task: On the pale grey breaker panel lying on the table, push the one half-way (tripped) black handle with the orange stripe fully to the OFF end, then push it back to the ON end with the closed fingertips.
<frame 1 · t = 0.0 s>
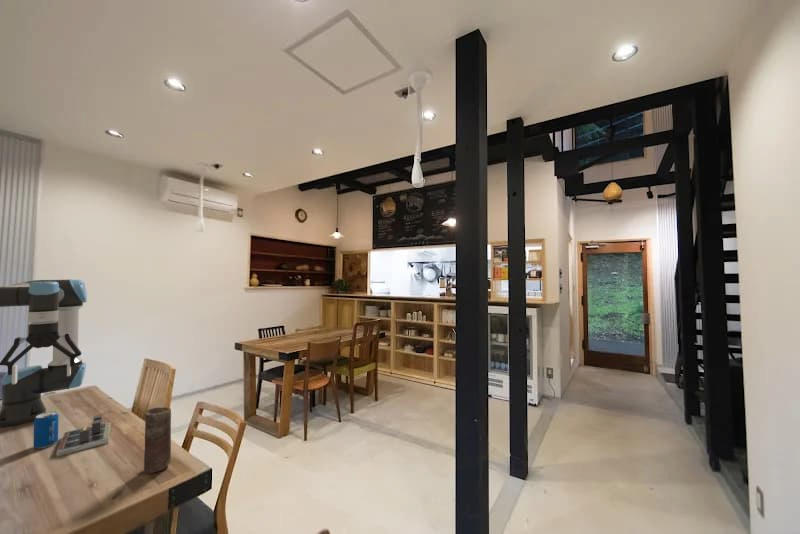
hand: (42, 379, 118), 28 cm above the table, fingers open, 13 cm apart
panel: (86, 440, 128), on the table
beverage can: (46, 445, 124), on the table
breaker a: (97, 421, 134), point 5 cm above the table, slide at 3.0 cm
tripped breaker: (84, 434, 123), point 5 cm above the table, slide at 0.0 cm
candle: (157, 468, 109), on the table
breaker b: (96, 426, 130), point 5 cm above the table, slide at 3.0 cm
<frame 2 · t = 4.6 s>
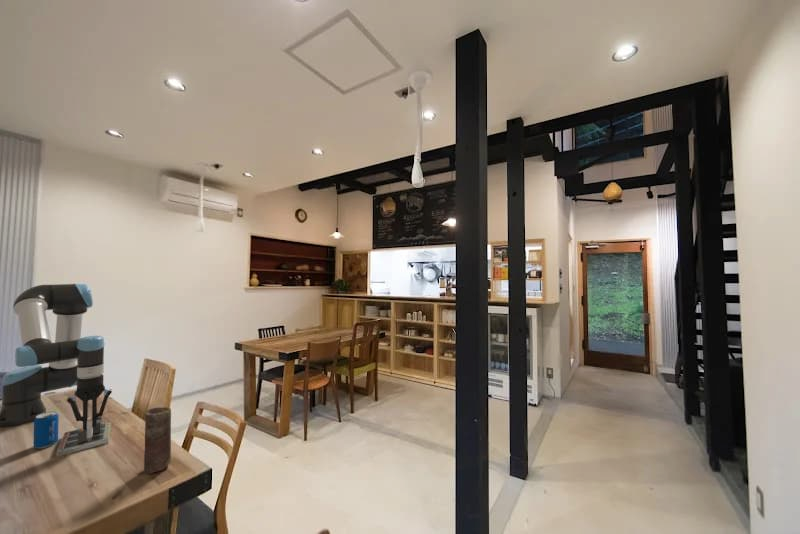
hand: (89, 436, 124), 3 cm above the table, fingers closed
tripped breaker: (82, 434, 123), point 5 cm above the table, slide at -0.5 cm, touching gripper
everything else where it was.
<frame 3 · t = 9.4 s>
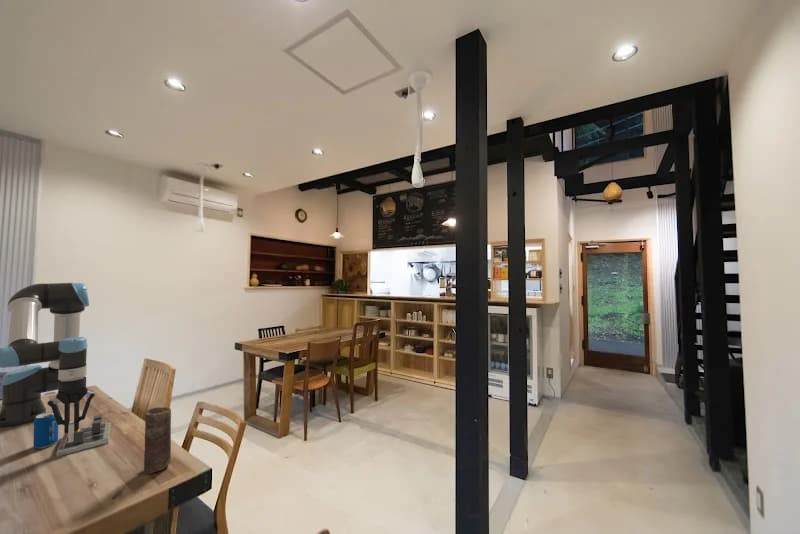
hand: (71, 440, 121), 4 cm above the table, fingers closed
tripped breaker: (78, 435, 122), point 5 cm above the table, slide at -1.6 cm, touching gripper
everything else where it was.
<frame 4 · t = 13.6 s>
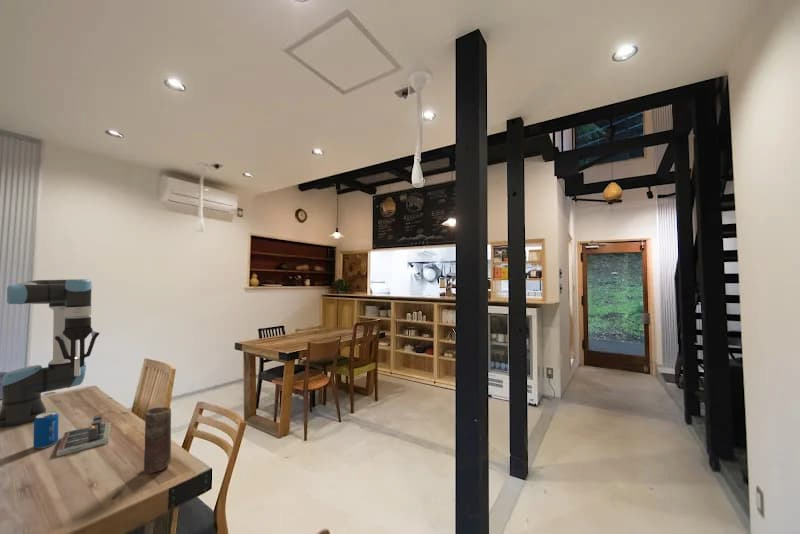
hand: (77, 375, 128), 26 cm above the table, fingers closed
tripped breaker: (93, 432, 125), point 5 cm above the table, slide at 2.4 cm
everything else where it was.
at the end: tripped breaker slide at 2.4 cm; breaker b slide at 3.0 cm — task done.
